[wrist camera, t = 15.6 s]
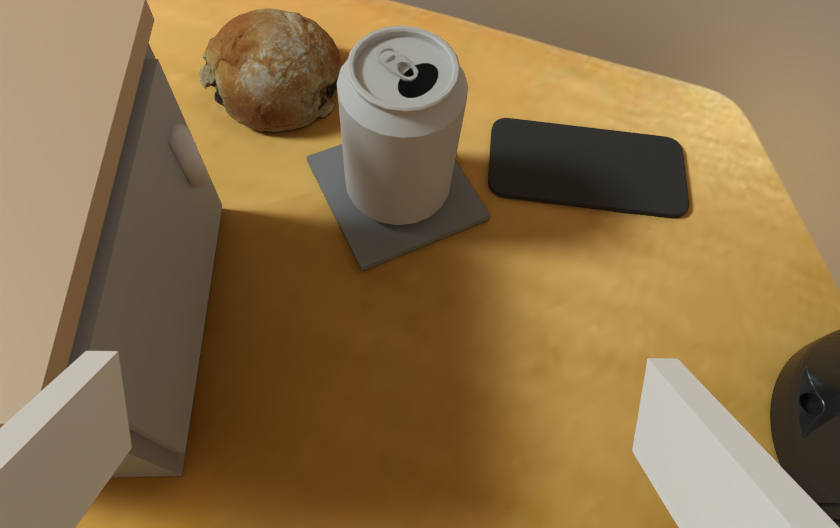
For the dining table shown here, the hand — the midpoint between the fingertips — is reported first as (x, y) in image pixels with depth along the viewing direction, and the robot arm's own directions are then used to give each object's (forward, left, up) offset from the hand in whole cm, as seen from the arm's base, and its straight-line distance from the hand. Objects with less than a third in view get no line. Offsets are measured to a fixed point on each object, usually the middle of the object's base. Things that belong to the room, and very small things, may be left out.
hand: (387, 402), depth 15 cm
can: (-10, -18, -21) cm, 30 cm away
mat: (-10, -18, -22) cm, 30 cm away
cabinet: (+12, -16, -22) cm, 30 cm away
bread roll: (-5, -31, -22) cm, 39 cm away
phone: (-24, -14, -22) cm, 36 cm away
